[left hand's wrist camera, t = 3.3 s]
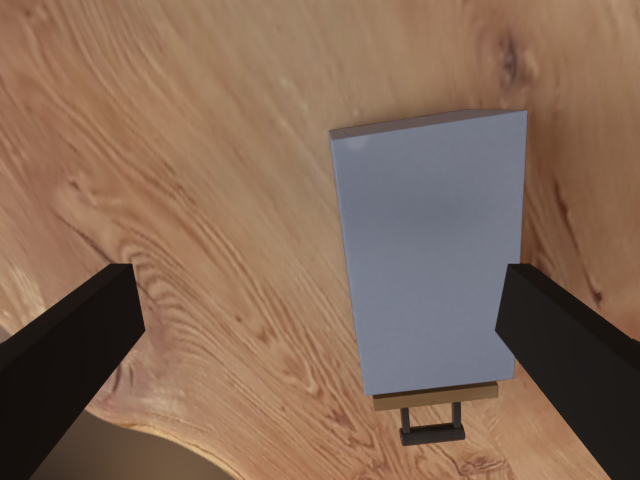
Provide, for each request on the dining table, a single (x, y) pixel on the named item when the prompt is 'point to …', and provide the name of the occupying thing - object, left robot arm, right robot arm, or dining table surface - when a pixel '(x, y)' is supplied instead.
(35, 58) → the dining table surface
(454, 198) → the cabinet
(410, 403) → the drawer
